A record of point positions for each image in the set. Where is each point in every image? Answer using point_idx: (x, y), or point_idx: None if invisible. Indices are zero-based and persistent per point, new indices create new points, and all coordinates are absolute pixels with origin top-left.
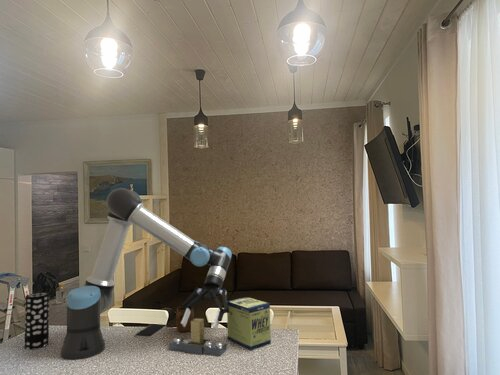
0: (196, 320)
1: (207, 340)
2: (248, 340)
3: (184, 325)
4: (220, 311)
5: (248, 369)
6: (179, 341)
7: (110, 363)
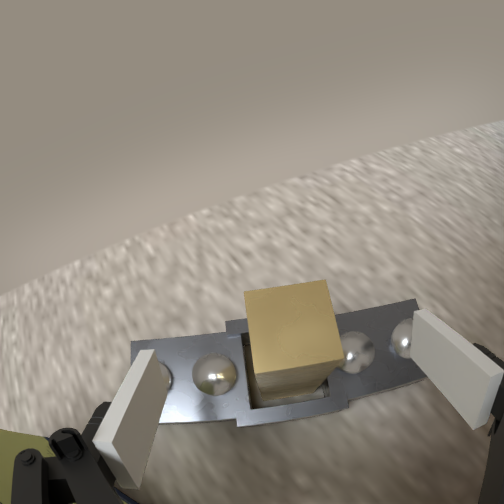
0: (293, 312)
1: (246, 411)
2: (38, 443)
3: (412, 344)
4: (93, 454)
5: (32, 286)
6: (390, 339)
7: (448, 166)
